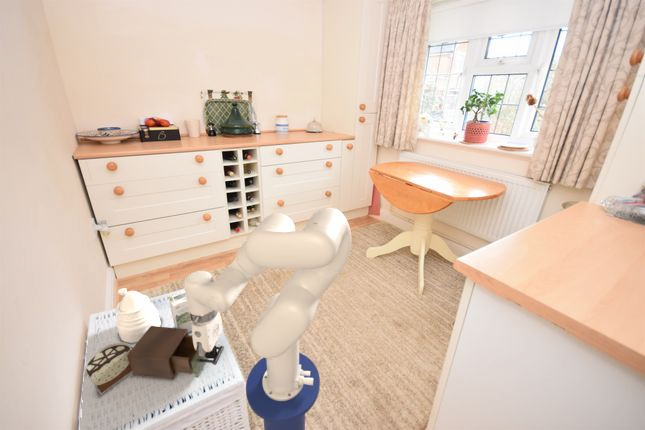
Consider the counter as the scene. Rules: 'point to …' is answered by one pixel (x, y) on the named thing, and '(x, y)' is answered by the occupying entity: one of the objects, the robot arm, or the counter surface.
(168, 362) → the cabinet
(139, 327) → the honey pot
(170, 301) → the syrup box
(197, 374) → the drawer
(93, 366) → the mint chocolate cake slice
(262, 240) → the robot arm
